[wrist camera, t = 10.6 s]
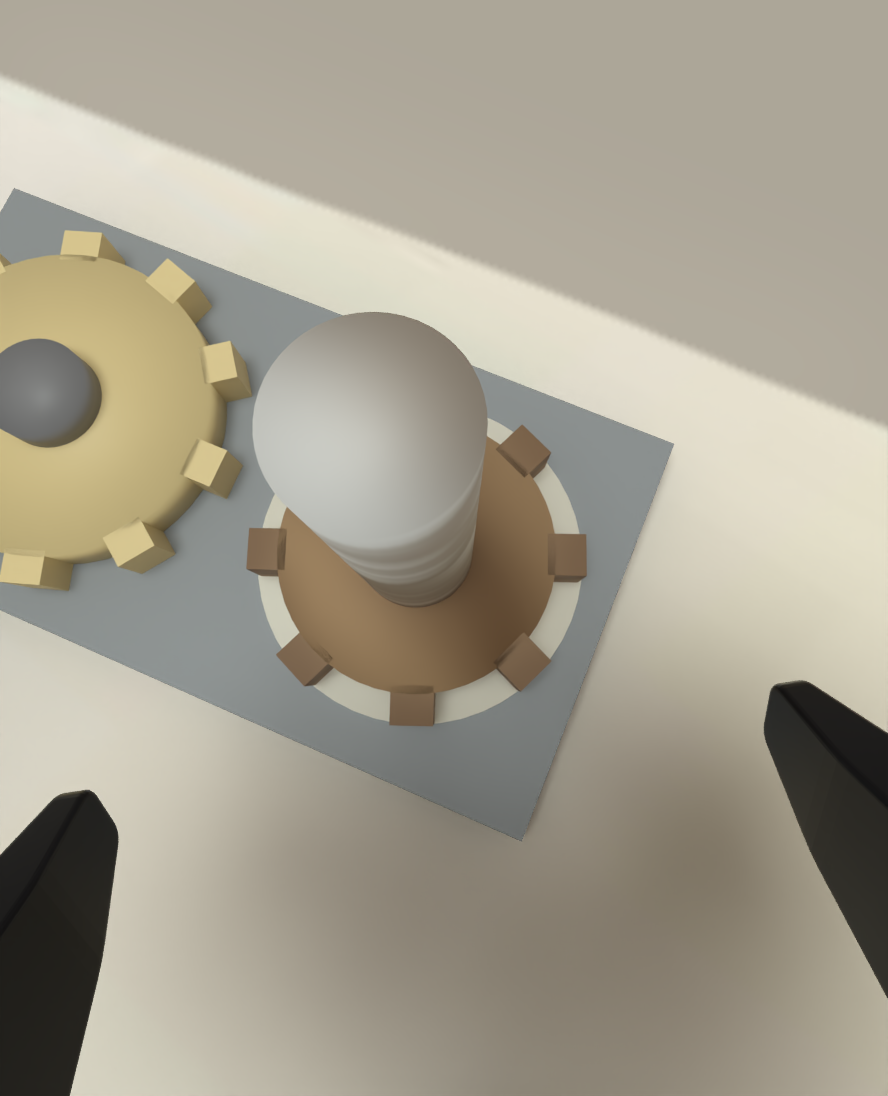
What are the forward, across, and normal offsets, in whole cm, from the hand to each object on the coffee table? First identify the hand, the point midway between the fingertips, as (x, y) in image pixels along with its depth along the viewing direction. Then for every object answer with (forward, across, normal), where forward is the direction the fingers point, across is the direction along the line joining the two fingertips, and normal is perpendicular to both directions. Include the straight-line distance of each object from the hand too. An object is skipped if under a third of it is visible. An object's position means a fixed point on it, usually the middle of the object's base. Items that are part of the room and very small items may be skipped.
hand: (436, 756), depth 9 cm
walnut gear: (+12, 0, +5) cm, 13 cm away
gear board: (+15, +5, +4) cm, 17 cm away
